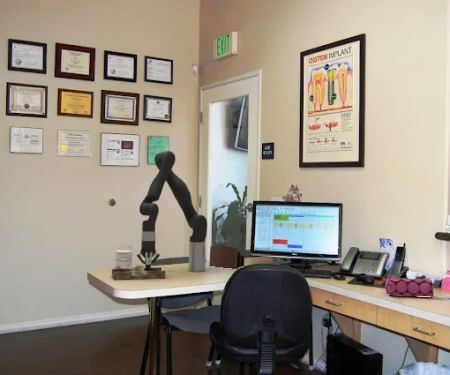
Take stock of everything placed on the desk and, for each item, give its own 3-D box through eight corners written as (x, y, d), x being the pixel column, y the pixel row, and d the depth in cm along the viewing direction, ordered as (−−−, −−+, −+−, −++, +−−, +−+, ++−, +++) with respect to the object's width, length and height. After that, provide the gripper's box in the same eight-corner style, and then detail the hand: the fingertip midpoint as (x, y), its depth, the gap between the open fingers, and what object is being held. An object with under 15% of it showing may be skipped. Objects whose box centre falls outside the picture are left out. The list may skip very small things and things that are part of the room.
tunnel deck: (160, 274, 275) (161, 267, 275) (165, 278, 264) (165, 271, 264) (111, 276, 267) (112, 268, 267) (114, 280, 255) (114, 272, 255)
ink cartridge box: (114, 271, 281) (115, 245, 281) (117, 270, 286) (118, 244, 286) (129, 272, 280) (130, 246, 280) (131, 270, 285) (132, 245, 285)
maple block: (142, 272, 269) (143, 264, 269) (144, 274, 264) (144, 266, 264) (131, 272, 268) (132, 265, 268) (132, 274, 262) (133, 266, 262)
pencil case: (389, 298, 230) (390, 277, 230) (383, 293, 240) (384, 273, 240) (435, 300, 229) (436, 278, 229) (428, 295, 239) (428, 274, 239)
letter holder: (236, 270, 297) (237, 247, 297) (209, 266, 307) (209, 244, 307) (244, 268, 306) (245, 245, 306) (217, 264, 316) (218, 242, 316)
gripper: (159, 238, 272) (158, 269, 272) (135, 239, 268) (134, 270, 268) (161, 240, 265) (161, 272, 265) (137, 240, 261) (136, 273, 261)
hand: (147, 271), depth 267 cm, fingers closed
